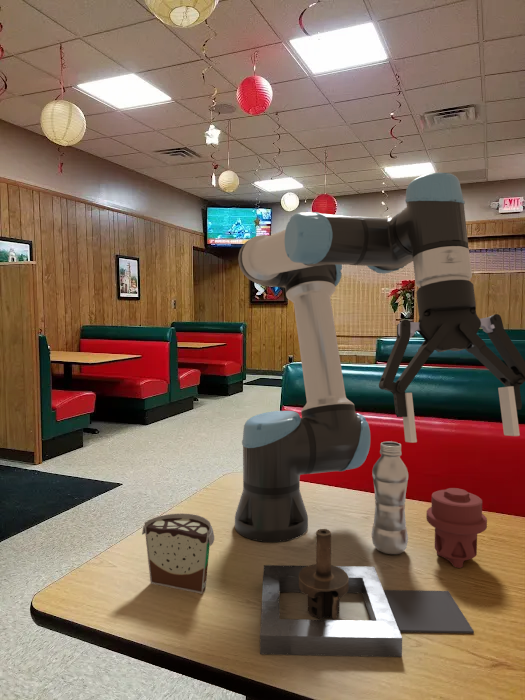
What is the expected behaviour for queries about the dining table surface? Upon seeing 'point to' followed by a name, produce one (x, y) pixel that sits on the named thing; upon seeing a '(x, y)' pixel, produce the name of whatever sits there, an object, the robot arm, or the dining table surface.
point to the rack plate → (328, 634)
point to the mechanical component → (456, 524)
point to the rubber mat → (426, 612)
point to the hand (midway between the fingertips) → (461, 439)
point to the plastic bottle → (390, 500)
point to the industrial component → (323, 580)
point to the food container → (178, 550)
